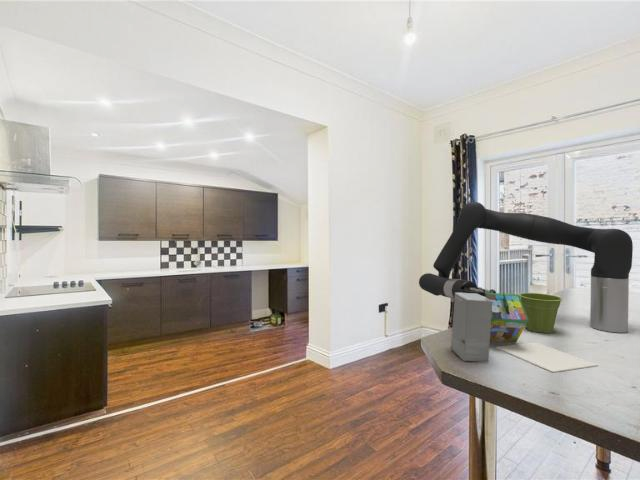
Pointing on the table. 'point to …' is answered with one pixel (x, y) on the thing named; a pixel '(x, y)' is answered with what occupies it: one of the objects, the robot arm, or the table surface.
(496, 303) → the chalk box
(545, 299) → the plant pot
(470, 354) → the skincare box
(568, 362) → the mat
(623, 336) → the table surface
